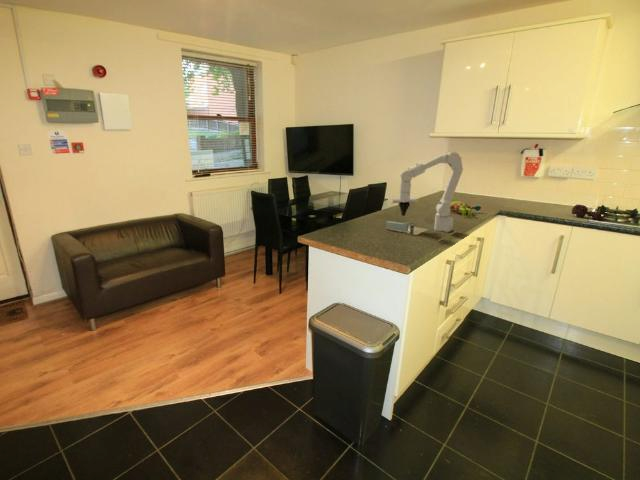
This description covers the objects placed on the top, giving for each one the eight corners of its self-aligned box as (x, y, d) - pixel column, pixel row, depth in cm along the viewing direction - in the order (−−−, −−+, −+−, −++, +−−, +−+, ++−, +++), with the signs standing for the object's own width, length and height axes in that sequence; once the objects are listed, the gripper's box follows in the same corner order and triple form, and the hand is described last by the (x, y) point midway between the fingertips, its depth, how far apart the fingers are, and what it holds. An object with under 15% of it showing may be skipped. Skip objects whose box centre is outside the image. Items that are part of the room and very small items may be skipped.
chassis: (428, 231, 193) (428, 222, 191) (416, 236, 182) (416, 227, 181) (399, 225, 204) (400, 217, 203) (387, 230, 194) (387, 222, 192)
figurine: (602, 223, 223) (571, 213, 234) (608, 211, 219) (577, 202, 231) (599, 225, 216) (567, 214, 227) (605, 213, 213) (573, 203, 224)
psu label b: (414, 230, 190) (414, 230, 190) (410, 231, 188) (410, 231, 188) (404, 228, 194) (404, 228, 194) (401, 229, 191) (401, 229, 191)
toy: (453, 208, 257) (455, 198, 255) (488, 215, 234) (489, 203, 232) (433, 210, 245) (434, 200, 243) (467, 218, 222) (468, 206, 220)
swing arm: (416, 231, 187) (417, 223, 185) (414, 232, 183) (414, 225, 182) (388, 227, 195) (388, 219, 194) (385, 228, 192) (386, 221, 190)
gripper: (414, 190, 195) (412, 213, 199) (390, 190, 193) (388, 214, 197) (419, 192, 188) (417, 216, 192) (394, 192, 186) (392, 216, 190)
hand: (403, 215), depth 194 cm, fingers closed
